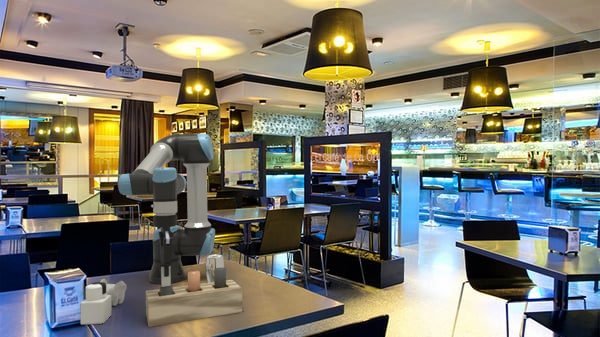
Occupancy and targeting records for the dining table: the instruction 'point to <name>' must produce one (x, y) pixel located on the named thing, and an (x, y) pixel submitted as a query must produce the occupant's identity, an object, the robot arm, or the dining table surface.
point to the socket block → (192, 303)
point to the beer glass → (213, 265)
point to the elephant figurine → (115, 292)
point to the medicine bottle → (95, 304)
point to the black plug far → (219, 278)
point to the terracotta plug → (193, 281)
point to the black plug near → (166, 290)
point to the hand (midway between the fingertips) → (166, 285)
